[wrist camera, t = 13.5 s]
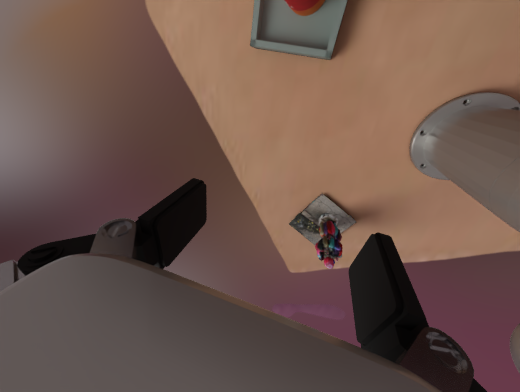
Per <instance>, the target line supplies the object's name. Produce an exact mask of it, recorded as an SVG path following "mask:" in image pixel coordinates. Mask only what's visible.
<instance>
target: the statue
mask: <svg viewBox="0 0 520 392" xmlns="http://www.w3.org/2000/svg"><path fill="white" fill-rule="evenodd" d="M317 198H318V199H317ZM317 198H316V199H317V200H316V199H315V200H314V201H313V202H312V203H311V204H309V205H308V206H307V207H306V208H305V209H304V210H303V211H302V212H301V213H300V214H298V215H297V216H296V218H295V219H293V220H292V221H291V222H290V223H289V225H291V226H292V227H293V228H294V229H296V230H297V231H298V232H300V233H301V234H302V235H303V236H304V237H306V238H307V239H308V240H309V241H310V242H312V243H313V244H314V245H315V248H316V250H317V255H318V257H319V259H320V260H321V261H322V260H324V264H325V266H326V267H327V268H329V269H332V268H333V266H334V263H335V261H338V258H341V257H342V244H341V243H340V241H341V238H342V236H341V233H342V232H343V231H344V230H346V229H347V228H349V227H350V226H351V225H353V224H354V223H356V221H355V220H354V218H353V219H352V218H351V217H352V216H350V215H348V214H346V213H345V212H344V211H343V210H342V209H340V208H339V206H337V204H334V203H333V202H332V201H331V200H329V199H328V198H327V197H326V196H325V195H323V194H321V195H320V196H319V197H317ZM334 260H335V261H334Z"/></svg>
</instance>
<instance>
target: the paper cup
mask: <svg viewBox="0 0 520 392" xmlns="http://www.w3.org/2000/svg"><path fill="white" fill-rule="evenodd" d="M324 1H325V0H285V2H286V3H287V4H288V6H289V7H290V8H291V9H292V10H293V11H294V12H295V13H296V14H298V15H300V16H308V15H311V14H313V13H315V12H316V11H317V10H318V9H319V8H320V7H321V6H322V5H323V3H324Z"/></svg>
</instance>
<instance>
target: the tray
mask: <svg viewBox="0 0 520 392" xmlns="http://www.w3.org/2000/svg"><path fill="white" fill-rule="evenodd" d="M346 3H347V0H325V1H324V3H323V5H322V6H321V7H320V8H319V9H318V10H317V11H316V12H315V13H313V14H311V15H308V16H300V15H298V14H296V13H295V12H294V11H293V10H292V9H291V8H290V7H289V6H288V4H287V3H286V2H285V0H255V1H254V11H253V22H252V32H251V43H250V46H252V47H254V48H257V49H263V50H270V51H276V52H282V53H288V54H295V55H301V56H307V57H313V58H320V59H326V60H330V59H331V55H332V52H333V48H334V45H335V41H336V38H337V35H338V31H339V28H340V24H341V21H342V17H343V14H344V10H345V7H346Z"/></svg>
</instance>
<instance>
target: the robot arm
mask: <svg viewBox="0 0 520 392" xmlns="http://www.w3.org/2000/svg"><path fill="white" fill-rule="evenodd" d="M464 100H465V102H464V103H463V101H464ZM422 130H423V132H422V133H420V132H421V131H422ZM410 157H411V160H412V162H413V164H414V165H415V167H416V168H417V169H418V170H420V171H421V172H422V173H424V174H425V175H427V176H430V177H432V178H436V179H442V180H451V181H452V182H453V183H455V184H456V185H457V186H458V187H460V188H461V189H462V190H464V191H465V192H466V193H467V194H469V195H470V196H471V197H473V198H474V199H475V200H477V201H478V202H479V203H480V204H482V205H483V206H484V207H486V208H487V209H488V210H489V211H491V212H492V213H493V214H495V215H496V216H497V217H499V218H500V219H501V220H503V221H504V222H505V223H507V224H508V225H509V226H511V227H512V228H514V229H515V230H517V231H519V232H520V103H519V102H518V101H517V100H515V99H514V98H512V97H510V96H508V95H504V94H500V93H491V92H485V93H473V94H468V95H464V96H461V97H458V98H455V99H453V100H451V101H449V102H447V103H445V104H443V105H441V106H440V107H438V108H437V109H435V110H434V111H433V112H432V113H430V114H429V115H428V116H427V117H426V118H425V119H424V120H423V121H422V122H421V123H420V124H419V126H418V127H417V129H416V131H415V132H414V134H413V137H412V139H411V143H410ZM421 164H423V165H421ZM138 218H139V219H138V220H137V221H136V222H134V221H133V220H131V219H126V218H120V219H115V220H112V221H109V222H107V223H105V224H104V225H102V226H101V227H100V228H99V230H98V231H97V233H96V234H92V235H88V236H82V237H77V238H72V239H66V240H62V241H56V242H51V243H47V244H43V245H40V246H38V247H36V248H33V249H32V250H30V251H28V252H27V253H26V254H24V255H23V256H22V257H21V258H20V259H19V261H18V262H15V261H14V260H11V261H8V262H5V263H2V264H0V392H487V391H486V390H485V389H484V388H483V387H482V386H481V385H480V384H479V383H478V382H477V381H476V380H475V379H474V378H473V377H474V369H473V366H472V363H471V361H470V359H469V358H468V356H467V354H466V353H465V351H464V350H463V349H462V348H461V346H460V345H459V344H458V343H457V342H456V341H455V340H453V339H452V338H451V337H450V336H448V335H447V334H446V333H444V332H442V331H441V330H439V329H436V328H432V327H429V325H428V323H427V321H426V317H425V315H424V312H423V310H422V308H421V305H420V303H419V301H418V299H417V296H416V294H415V291H414V289H413V287H412V284H411V282H410V280H409V277H408V275H407V273H406V271H405V268H404V266H403V263H402V261H401V259H400V256H399V254H398V252H397V249H396V247H395V245H394V242H393V240H392V238H391V237H390V236H388V235H385V234H381V233H376V234H372V235H371V236H370V237H369V239H368V240H367V242H366V243H365V245H364V246H363V248H362V249H361V251H360V252H359V254H358V255H357V257H356V258H355V260H354V261H353V263H352V264H351V266H350V268H349V279H350V287H351V295H352V303H353V312H354V320H355V328H356V336H357V340H358V342H359V343H361V348H360V347H357V346H355V345H352V344H350V343H348V342H345V341H343V340H341V339H338V338H336V337H333V336H331V335H328V334H326V333H323V332H321V331H318V330H316V329H313V328H311V327H308V326H306V325H303V324H301V323H298V322H296V321H293V320H291V319H289V318H286V317H284V316H281V315H279V314H276V313H273V312H271V311H268V310H266V309H263V308H261V307H258V306H256V305H253V304H251V303H248V302H245V301H243V300H241V299H238V298H236V297H233V296H230V295H228V294H225V293H223V292H220V291H218V290H215V289H213V288H210V287H207V286H205V285H202V284H200V283H197V282H195V281H192V280H189V279H187V278H184V277H182V276H179V275H177V274H174V273H172V272H169V271H166V270H163V268H164V267H165V266H166V267H167V266H169V265H170V264H171V263H172V261H173V260H174V259H175V258H176V257H177V256H178V255H179V253H180V252H181V251H182V250H183V249H184V247H185V246H186V245H187V244H188V243H189V242H190V240H191V239H192V238H193V237H194V236H195V235H196V234H197V232H198V231H199V230H200V229H201V228H202V227H203V225H204V224H205V222H206V184H204V182H203V181H202V180H198V179H195V178H193V179H191V180H190V181H188V182H187V183H186V184H184V185H183V186H182V187H180V188H179V189H177V190H176V191H174V192H173V193H172V194H170V195H169V196H167V197H166V198H165V199H163V200H162V201H160V202H159V203H158V204H157V205H155V206H153V207H152V208H151V209H149V210H148V211H147V212H145V213H144V214H142V215H141V216H140V217H138ZM510 351H511V355H512V358H513V361H514V363H515V365H516V368H517V370H518V371H519V373H520V324H519V325H518V326H517V327H516V328H515V330H514V331H513V333H512V335H511V338H510Z"/></svg>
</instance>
